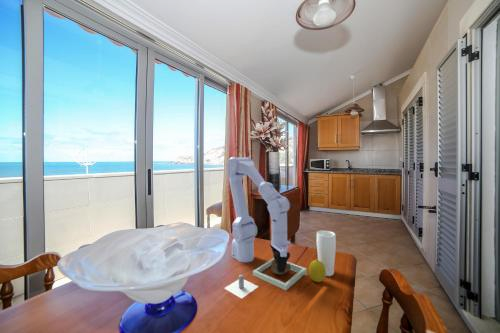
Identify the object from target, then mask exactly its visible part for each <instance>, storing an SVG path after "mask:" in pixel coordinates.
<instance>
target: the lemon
mask: <svg viewBox="0 0 500 333" xmlns="http://www.w3.org/2000/svg"><path fill="white" fill-rule="evenodd" d="M308 275H309V277H310V278H311V280H312V281H313V282H316V283H321V282H323V281H325V278H326V276H325V275H326V271H325V266H324V264H323V263H322V262H321V261H319V260H318V259H314V260H312V261H311V262H310V264H309V267H308Z"/></svg>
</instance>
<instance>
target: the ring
mask: <svg viewBox="0 0 500 333" xmlns="http://www.w3.org/2000/svg"><path fill="white" fill-rule="evenodd" d="M290 263H291V262H290ZM290 263H289V264H286V268H285V272H282V273H279V272H278V268H277V262H276V259H274V260H272V261H271V266H270V267H271V268H270V270H271V272H272V273H274V274H276V275H283V274H284V275H285V273H287V271H288V272H289V271H290V272H291V270H290Z"/></svg>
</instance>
